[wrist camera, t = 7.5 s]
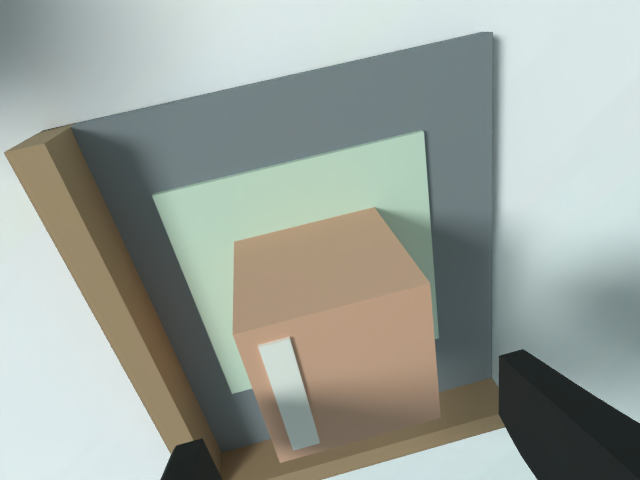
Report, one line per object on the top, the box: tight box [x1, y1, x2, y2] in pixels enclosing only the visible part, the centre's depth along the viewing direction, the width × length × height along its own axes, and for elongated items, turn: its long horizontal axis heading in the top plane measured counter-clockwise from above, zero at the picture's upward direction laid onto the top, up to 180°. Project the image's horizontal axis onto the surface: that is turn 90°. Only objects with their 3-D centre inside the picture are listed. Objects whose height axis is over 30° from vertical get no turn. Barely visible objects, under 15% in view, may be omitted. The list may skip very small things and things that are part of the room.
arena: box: [4, 32, 505, 480], centre depth 16 cm, size 16×14×2 cm
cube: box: [233, 207, 441, 463], centre depth 14 cm, size 5×5×5 cm
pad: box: [152, 130, 439, 394], centre depth 16 cm, size 9×9×1 cm
